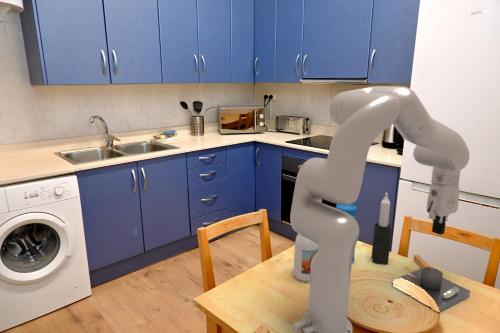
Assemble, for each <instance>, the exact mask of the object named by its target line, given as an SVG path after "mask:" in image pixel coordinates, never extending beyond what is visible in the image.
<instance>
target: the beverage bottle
mask: <svg viewBox="0 0 500 333" xmlns="http://www.w3.org/2000/svg"><path fill="white" fill-rule="evenodd" d="M335 208H336V209H339V210H342V211H344V212H346V213H348V214H349V215H351V216H352V217H353V218H354V219H355V220H356V216H357V206H356V205H355V204H351V205H340V204H336V206H335ZM355 250H356V249H354V253H353V258H352V263H353V264H354V262H355V254H356V252H355Z"/></svg>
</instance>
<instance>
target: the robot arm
mask: <svg viewBox="0 0 500 333" xmlns="http://www.w3.org/2000/svg"><path fill="white" fill-rule="evenodd" d="M328 111H329V117H330V119H331V120H332V122H333V123H334V124H336V125H337V126H339V127H338V128H337V130H336V131H335V133H334V134H333V137H332V139H331V142H330V146H329V150H328V155H327V158H324V157H323V158H322V157H311V158H309V159H307V160H306V161H305V162H304V163H302V165H301V166H300V168H299V170H298V171H297V176H296V180H295V183H294V184H295V185H294V190H293V196H292V203H291V207H290V208H291V210H290V215H289V216H290V217H289V219H290V225H291V228H292V229H293V231H294V232H295V233H297V235H298V234H300V235H302V236H303V237H305V238H307V239H309V240H311V241H313V242H315V243H316V244H318V245H319V250H318V252H317V253H316V254H315V255H314V256H313V258H312V261H311V270H310V271H311V272H310V281H309V291H308V292H309V293H308V310H307V311H305V312H304V314H303V315H302V319H301V320H297V321H295V322H293V323H292V324H291V326H292V329H293V331H294V332H298V331H300V330H303V333H353V330H354V328H353V324H352V322H351V321H350V319H349V320H348V319H347V318H348V312H349V301H350V288H351V287H350V286H351V275H352V274H351V272H352V266H353V265H352V258H353V253H354V249H355V248H356V245H357V243H358V239H359V236H360V227H359V223H358V221H357V220H356V218H355V217H354V218H355V219H354V218H353V217H352V216H351V215H349V214H348V213H346V212H344V211H342V210H339V209H336V207H334V206H331V205H328V204H326V203H322V202H323V200H324V201H327V202H330V203H333V204H336V205H337V204H340V205H351V204H352V205H354V203H356V201H357V200H358V198H359V195H360V192H361V188H362V184H363V178H364V174H365V169H366V163H367V159H368V154H369V151H370V148H371V146H372V144H373V142H374V141H375V140H376V138H378V137H379V136H380V135H381V134H382V133H383V132H384V131H386V130H387V129H389V128H390V127H391V126H392V125H393V126H394V128H395V129H396V130H397V132H398V133H399V134H400V135H401V137H402V138H403V139H404V140H406V141H407V142H408V143H411V144H413V145H415V146H414V149H413V153H412V154H413V158H414V160H415V161H416V162H417V163H418V164H420V165H423V166H427V167H432V172H431V184H430V187H429V190H428V191H429V192H428V197H427V201H426V213H428V218H429V219H430V220H432V229H431V232H432V233H434V234H437V235H440V236H441V235H444V234H445V232H446V231H445V230H446V223H447V222H448V217H449V215H451V214H454V213H456V212H458V209H459V200H460V199H459V198H460V179H461V177H460V176H461V171H462V170H463V169H465V168H466V167H467V165H468V164H469V161H470V152H469V151H470V150H469V148H468V146H467V143H466V141H465V140H464V138H463V137H462V136H461V135H460V134H459V133H457V131H455V130H453V129H452V128H450V127H448V126H447V125H444V124H443V123H441V122H440V121H438V120H436V119H434V118H432V116H431V115H430V114H429V112H428V111H427V109H426V108H425V106H424V104H423V103H422V100H420V98H419V96H418V95H417V93H416V92H415V91H414V90H413V89H411V88H410V87H408V86H399V85H398V86H397V85H396V86H395V85H390V86H389V85H379V86H377V85H376V86H367V87H363V88H358V89H352V90H347V91H341V92H340V93H337V94H336V95H335V96H334V98H332V100H331V101H330V104H329V110H328ZM355 250H356V249H355ZM354 254H355V253H354Z"/></svg>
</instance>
